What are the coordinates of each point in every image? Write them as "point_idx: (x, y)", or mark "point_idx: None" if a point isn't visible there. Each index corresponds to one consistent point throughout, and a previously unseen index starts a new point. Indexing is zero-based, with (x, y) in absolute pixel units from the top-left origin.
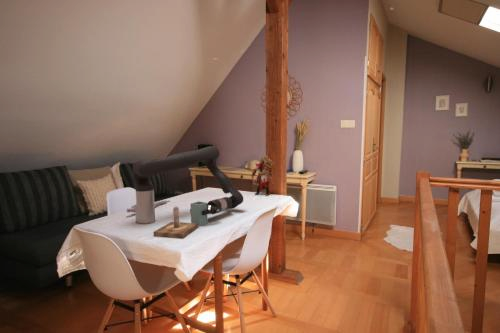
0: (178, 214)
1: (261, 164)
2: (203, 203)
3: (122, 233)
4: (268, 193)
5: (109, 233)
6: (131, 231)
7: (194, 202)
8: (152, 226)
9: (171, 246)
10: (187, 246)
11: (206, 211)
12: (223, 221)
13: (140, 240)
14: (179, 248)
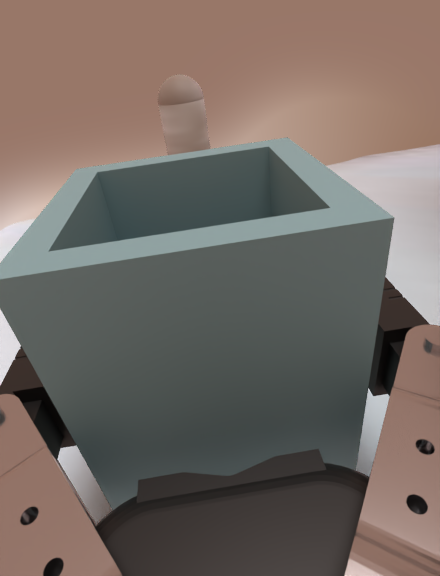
0: (167, 150)
1: None
2: (50, 215)
3: (376, 168)
4: None
5: (407, 154)
6: (386, 181)
7: (317, 163)
8: (428, 228)
9: None
10: (6, 240)
11: (19, 356)
12: None
13: None
14: (29, 224)
